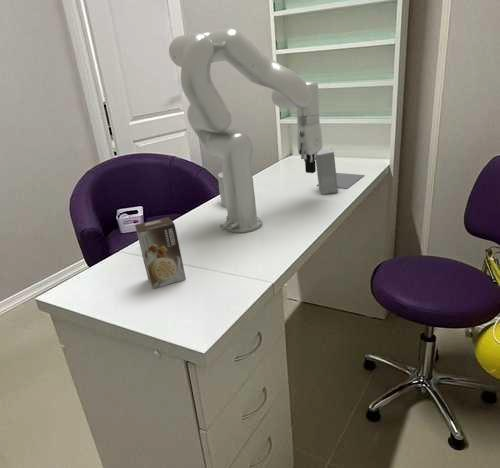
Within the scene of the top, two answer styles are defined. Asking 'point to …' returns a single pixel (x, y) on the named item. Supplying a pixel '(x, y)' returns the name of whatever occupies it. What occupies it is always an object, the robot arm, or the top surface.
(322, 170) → the skincare box
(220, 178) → the toilet paper roll
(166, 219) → the coffee box
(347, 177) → the mat
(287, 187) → the top surface
